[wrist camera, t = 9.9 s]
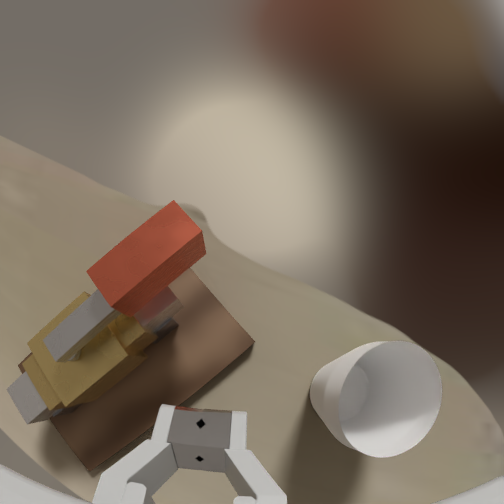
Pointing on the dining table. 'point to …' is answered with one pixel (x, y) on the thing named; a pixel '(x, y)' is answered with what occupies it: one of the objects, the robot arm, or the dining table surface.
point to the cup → (379, 397)
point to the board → (157, 375)
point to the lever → (130, 278)
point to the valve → (90, 359)
